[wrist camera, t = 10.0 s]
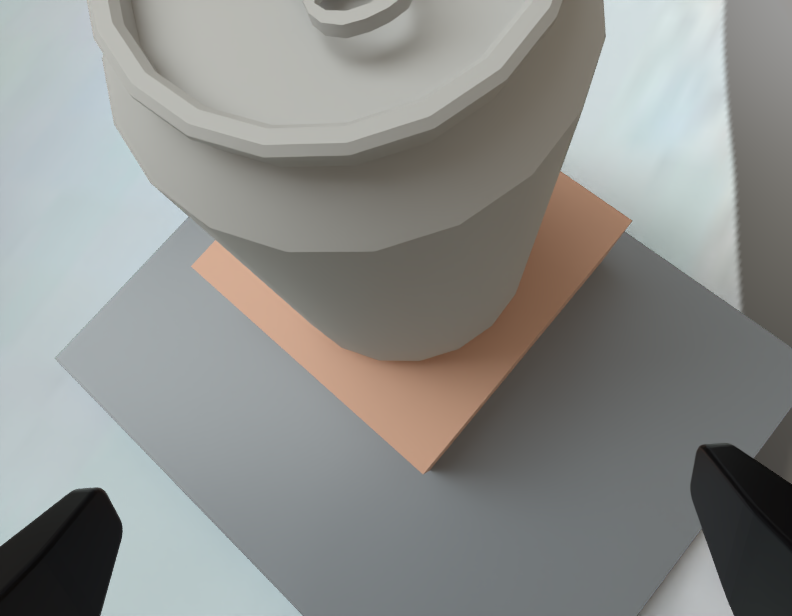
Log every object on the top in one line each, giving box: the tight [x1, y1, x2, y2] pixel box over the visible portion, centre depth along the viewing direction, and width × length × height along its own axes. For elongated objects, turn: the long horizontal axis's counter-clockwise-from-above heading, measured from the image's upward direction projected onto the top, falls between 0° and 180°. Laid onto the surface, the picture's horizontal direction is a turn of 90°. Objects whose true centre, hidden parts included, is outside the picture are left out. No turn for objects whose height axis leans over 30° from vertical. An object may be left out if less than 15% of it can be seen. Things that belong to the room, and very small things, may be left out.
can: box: [87, 0, 606, 361], centre depth 13 cm, size 8×8×12 cm
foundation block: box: [191, 171, 632, 474], centre depth 21 cm, size 10×10×4 cm
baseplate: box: [55, 217, 792, 616], centre depth 22 cm, size 22×18×1 cm
